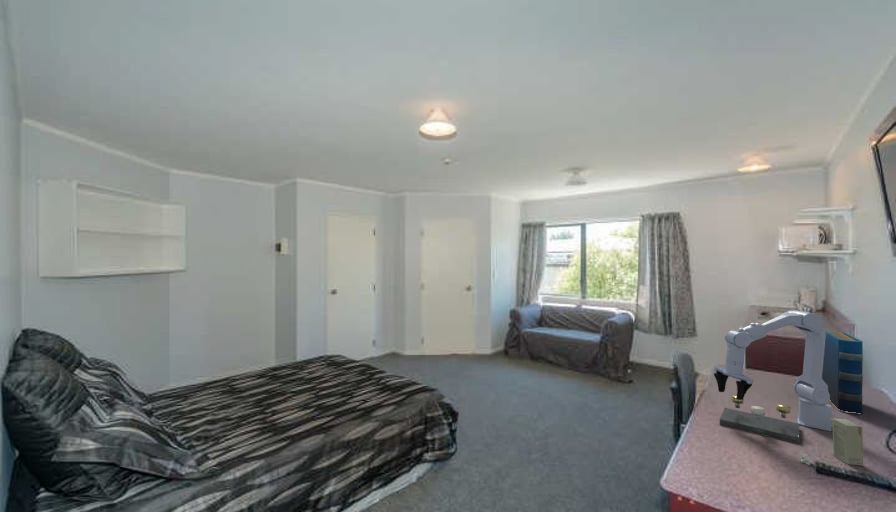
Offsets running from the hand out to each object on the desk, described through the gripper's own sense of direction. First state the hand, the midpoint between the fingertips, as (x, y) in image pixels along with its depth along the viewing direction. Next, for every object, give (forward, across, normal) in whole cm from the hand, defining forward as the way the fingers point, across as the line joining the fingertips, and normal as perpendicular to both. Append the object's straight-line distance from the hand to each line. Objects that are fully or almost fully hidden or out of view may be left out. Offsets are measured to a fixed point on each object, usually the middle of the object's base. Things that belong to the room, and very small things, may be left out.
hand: (730, 395), depth 154 cm
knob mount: (+9, +7, +7) cm, 14 cm away
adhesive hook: (+10, +32, -5) cm, 34 cm away
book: (+4, 0, +65) cm, 65 cm away
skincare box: (+8, +33, +10) cm, 35 cm away
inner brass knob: (+4, +10, +14) cm, 18 cm away
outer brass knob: (+5, -1, +6) cm, 8 cm away
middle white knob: (+5, +9, +2) cm, 11 cm away
